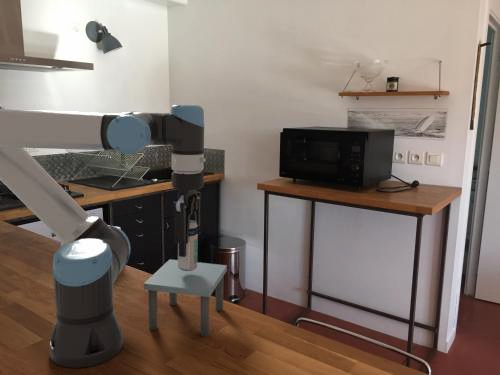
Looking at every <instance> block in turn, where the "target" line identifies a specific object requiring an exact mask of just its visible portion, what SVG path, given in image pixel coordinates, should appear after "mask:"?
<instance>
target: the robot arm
mask: <svg viewBox="0 0 500 375" xmlns="http://www.w3.org/2000/svg"><path fill="white" fill-rule="evenodd" d="M170 109H171V110H170V112H165V113H162V112H141V111H139V112H138V111H127V112H126V111H124V112H120V113H103V112H83V111H82V112H81V111H80V112H79V111H61V110H60V111H58V110H37V109H36V110H35V109H33V110H32V109H15V108H14V109H11V108H8V109H7V108H5V107H4V106H3V105H2V104H0V181H1V183H3V184H4V186H6V187H7V189H9V190H10V191H11V193H13V195H15V196H16V197H17V198H18V199H19V200H20V201H21V202H22V203H23V204H24V205H25V206H26V207H27V208H28V209H29V210H30V211H31V213H33V214H34V215H35V216H36V217H37V219H39V220H40V221H41V222H42V223H43V224H44V225H45V226H46V227H47V228H48V229H49V230H50V231H51V232H52V233H53V234H54V235H55V236H56V237H57V238H58V239H59V240H60V247H59V248H57V250H56V251H55V252H54V253H53V254H54V255H53V259H52V260H53V261H52V263H53V264H52V269H51V270H52V275H53V286H54V287H53V288H54V298H55V299H54V301H55V312H56V315H55V316H56V321H55V324H54V326H53V328H54V329H53V330H52V331H53V332H52V333H51V334H52V335H51V338H50V341H49V356H50V359H51V360H52V362H53V363H55V365H56V364H57V365H59V366H61V367H64V368H69V369H70V368H71V369H72V368H73V369H75V368H76V369H77V368H78V369H79V368H87V367H92V366H96V365H99V364H101V363H105V362H107V361H108V360H110V359H112V358H113V357H115V356H116V355H117V354H118V353H119V352H120V351H121V350H122V348H123V345H124V341H123V340H124V338H123V336H124V335H123V331H122V328H121V327H120V323H119V322H118V321H119V320H118V319H117V316H116V314H115V311H114V288H113V287H114V283H115V281H116V280H117V278H118V277H119V275H120V274H121V273H122V271H123V269H124V268H126V265H127V264H128V262H129V258H130V255H131V243H130V240H129V238H128V236H127V234H126V233H125V232H124V231H123V230H122V229H121V230H120V229H119V228H117V227H118V226H116V227H114V225H109V224H107V223H106V222H105V221H104V220H103V219H102V218H101V217H100V216H96V215H95V216H92V215H89V213H87V211H86V210H84V208H82V207H81V205H79V203H78V202H77V201H76V200H75V199H74V198H73V197H72V196H71V195H70V194H69V193H68V192H67V191H66V190H65V189H64V188H63V186H61V185H60V184H59V183H58V182H57V181H56V180H55V179H54V177H53V176H51V175H50V173H48V172H47V171H46V169H44V168H43V166H42V165H40V163H39V162H38V161H37V160H36V159H35V158H34V157H33V156H32V155H31V154H30V153H29V152H28V151H27V149H51V150H52V149H55V150H83V151H84V150H85V151H87V150H88V151H108V152H109V151H110V152H118V153H120V154H125V155H130V154H137V153H140V152H141V151H143V150H144V149H145V148H146V147H149V146H167V147H168V146H170V147H171V163H170V164H171V170H172V173H171V187H172V188H174V189H176V190H178V193H177V198H176V201H173V202H172V210H173V243H175V244H177V260H178V268H183V269H189V268H190V242H188V237H189V224H190V220H194V221H196V224H197V225H198V236H199V235H200V236H201V233H202V232H201V196H202V192H200V191H197V190H200V189H202V188H203V187H204V186H205V185H204V182H205V181H204V176H205V175H204V172H203V170H204V167H205V166H204V163H205V162H206V161H207V159H206V158H205V157H204V153H205V152H204V151H205V150H204V149H205V116H204V115H205V113H204V112H205V111H204V109H203V107H202V106H200V105H197V104H196V105H195V104H194V105H193V104H173V105H172V106H171V108H170Z"/></svg>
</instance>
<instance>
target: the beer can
mask: <svg viewBox="0 0 500 375" xmlns="http://www.w3.org/2000/svg"><path fill="white" fill-rule="evenodd" d="M198 231H199V230H198V225H197V224H196V221H194V220H190V224H189V237H188V242H190V268H189V269H183V268H179V269H181V270H183V271H192V270H194V269H196V268H197V262H198V249H199V248H198V245H199V244H198V243H199V240H198V236H199V235H198Z"/></svg>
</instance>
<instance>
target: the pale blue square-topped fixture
mask: <svg viewBox="0 0 500 375" xmlns="http://www.w3.org/2000/svg"><path fill="white" fill-rule="evenodd" d="M227 271H228V265H227V264H226V265H225V264H219V263H218V264H216V263H209V262H208V263H207V262H198V261H197V268H196V269H194V270H192V271H183V270H181V269H179V268H178V259H168V261H166V262H165V263H164V264H163V265H162V266H161V267H160V268H158V270H156V272H154V273H153V274H152V275H151V276H150V277H149V278H148V279H147V280H146V281H144V282H143V290H147V291H148V292H147V293H148V294H147V295H148V297H147V298H148V328H149V329H148V330H150V331H154V330H155V331H156V330H157V329H158V292H163V293H169V294H168V297H169V299H168V302H169V304H168V305H169V306H175V305H177V304H178V295H177V294H180V295H189V296H197V297H200V319H199V320H200V329H199V330H200V337H202V338H207V337H209V335H210V296H211V295H212V294H213V293H214V291H215V311H216V312H223V310H224V283H225V282H224V278H225V277H224V276H225V275H226V273H227Z"/></svg>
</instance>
